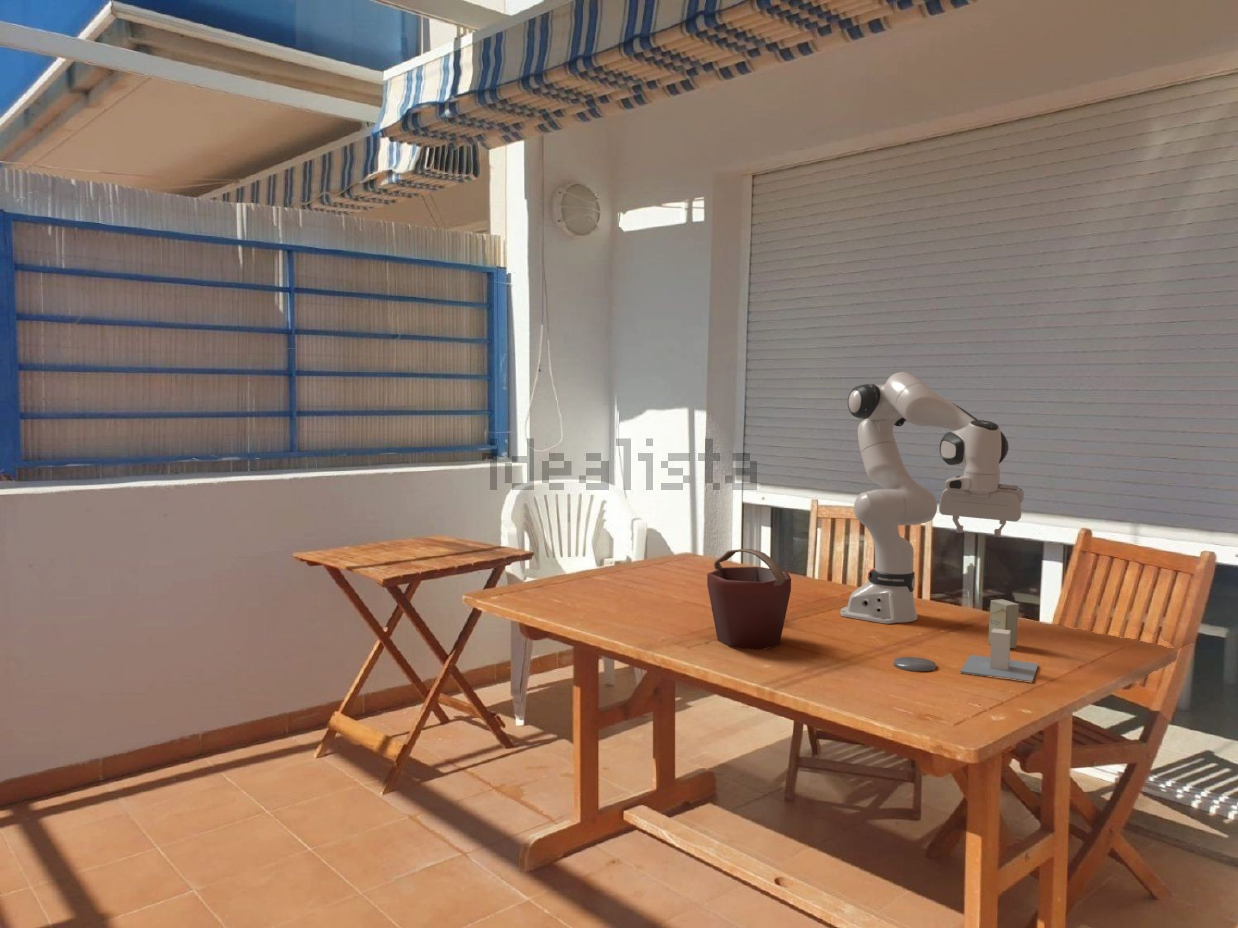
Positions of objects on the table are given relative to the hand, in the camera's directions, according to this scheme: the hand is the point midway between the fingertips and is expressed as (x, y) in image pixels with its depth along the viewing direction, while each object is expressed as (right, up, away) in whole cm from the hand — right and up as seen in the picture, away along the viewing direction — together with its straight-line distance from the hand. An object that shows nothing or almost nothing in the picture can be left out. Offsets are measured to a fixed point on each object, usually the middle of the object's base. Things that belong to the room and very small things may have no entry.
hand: (978, 534), depth 247 cm
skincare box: (+8, -31, +4) cm, 32 cm away
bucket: (-59, -30, +8) cm, 67 cm away
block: (-2, -31, -18) cm, 36 cm away
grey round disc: (-21, -32, -14) cm, 41 cm away
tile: (-1, -32, -17) cm, 36 cm away
